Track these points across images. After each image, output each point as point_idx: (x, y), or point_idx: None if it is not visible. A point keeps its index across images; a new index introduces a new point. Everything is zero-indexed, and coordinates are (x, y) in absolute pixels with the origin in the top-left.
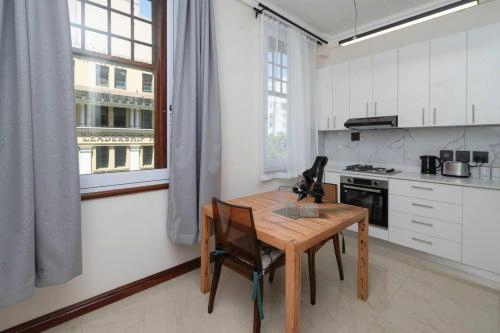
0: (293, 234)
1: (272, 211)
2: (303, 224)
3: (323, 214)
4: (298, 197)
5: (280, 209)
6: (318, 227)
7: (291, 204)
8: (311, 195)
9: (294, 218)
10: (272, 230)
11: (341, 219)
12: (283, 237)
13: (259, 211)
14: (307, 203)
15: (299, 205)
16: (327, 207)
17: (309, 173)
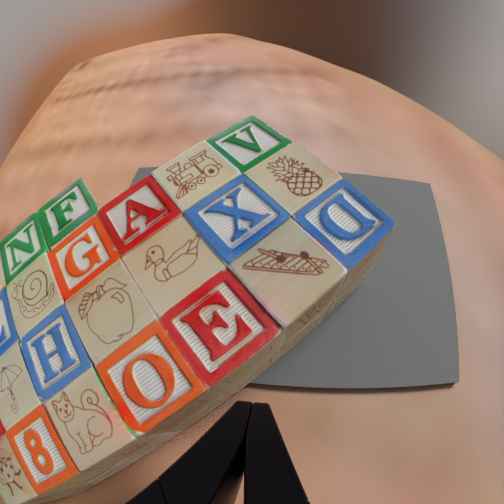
0: (89, 78)
1: (421, 182)
2: (68, 156)
3: None
4: (255, 469)
5: (439, 281)
6: (4, 185)
7: (262, 211)
8: None
9: (145, 172)
10: (173, 48)
11: None
12: (114, 54)
13: (463, 142)
14: (72, 462)
15: (121, 256)
16: None
17: None
